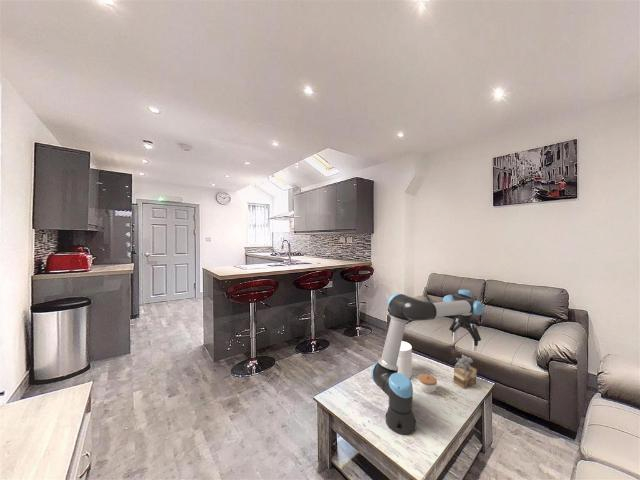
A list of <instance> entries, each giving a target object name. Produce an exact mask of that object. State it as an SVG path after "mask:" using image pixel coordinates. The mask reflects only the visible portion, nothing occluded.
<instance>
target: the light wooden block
mask: <svg viewBox="0 0 640 480" xmlns="http://www.w3.org/2000/svg"><path fill="white" fill-rule="evenodd" d="M465 367H466V366H465ZM470 369H471V370H468V368H467V367H466V370H467V372H464V369H463V368H461V367H460V366H458V367H457V368H456V367H455V366H454V367H453V376H454V375H455V376H456V377H458V378H460V379H461V380H463V381H465V380H468V379H471V378H474V377H476V378H477V376H478V368H476V367H474V366H472V365H470Z"/></svg>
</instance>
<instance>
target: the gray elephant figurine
mask: <svg viewBox="0 0 640 480" xmlns="http://www.w3.org/2000/svg"><path fill="white" fill-rule="evenodd" d="M456 361H457V362H456V364H455V365H454V367H456V368H457V367H458V366H460V367H461V368H463V369H464V372H467V370H466V367H467V368H468V370H471V369H470V366H471V364H473V363H474V360H473V359H472V357H468V356H467V355H464V354H462V355H461V358H459V357H456ZM465 366H466V367H465Z"/></svg>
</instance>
